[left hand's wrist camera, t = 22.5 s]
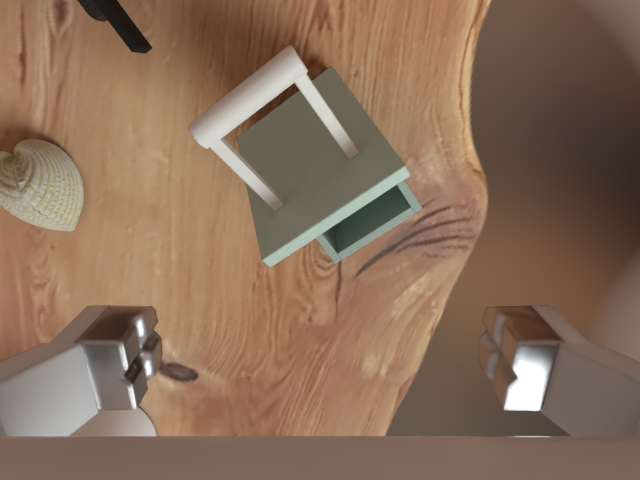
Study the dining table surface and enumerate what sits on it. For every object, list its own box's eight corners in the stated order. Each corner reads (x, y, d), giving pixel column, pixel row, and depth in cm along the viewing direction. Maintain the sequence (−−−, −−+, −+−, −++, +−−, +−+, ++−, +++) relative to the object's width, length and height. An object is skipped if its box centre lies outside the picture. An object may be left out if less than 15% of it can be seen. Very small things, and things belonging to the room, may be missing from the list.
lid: (411, 175, 21) (337, 48, 16) (270, 268, 23) (163, 181, 18) (337, 74, 31) (276, -24, 26) (243, 144, 33) (169, 66, 28)
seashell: (40, 116, 39) (72, 186, 38) (80, 158, 47) (107, 216, 46) (-51, 150, 37) (-22, 225, 36) (6, 187, 45) (32, 249, 44)
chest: (403, 183, 44) (422, 208, 36) (332, 229, 46) (334, 264, 38) (331, 70, 40) (334, 69, 31) (256, 126, 42) (240, 140, 33)
